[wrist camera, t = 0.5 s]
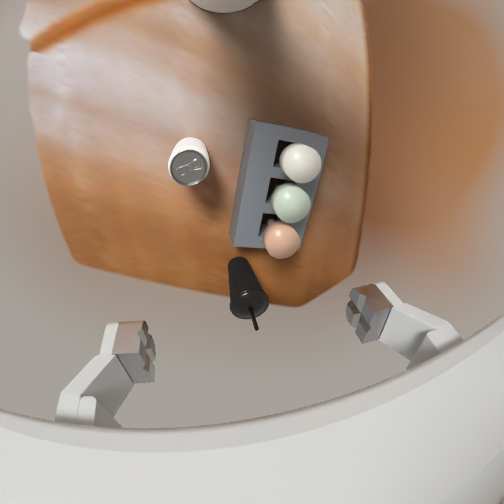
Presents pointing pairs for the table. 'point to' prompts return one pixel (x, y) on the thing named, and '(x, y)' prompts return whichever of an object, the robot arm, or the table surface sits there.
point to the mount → (267, 180)
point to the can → (189, 162)
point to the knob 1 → (280, 239)
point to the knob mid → (290, 202)
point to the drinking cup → (245, 291)
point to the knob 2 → (300, 162)
